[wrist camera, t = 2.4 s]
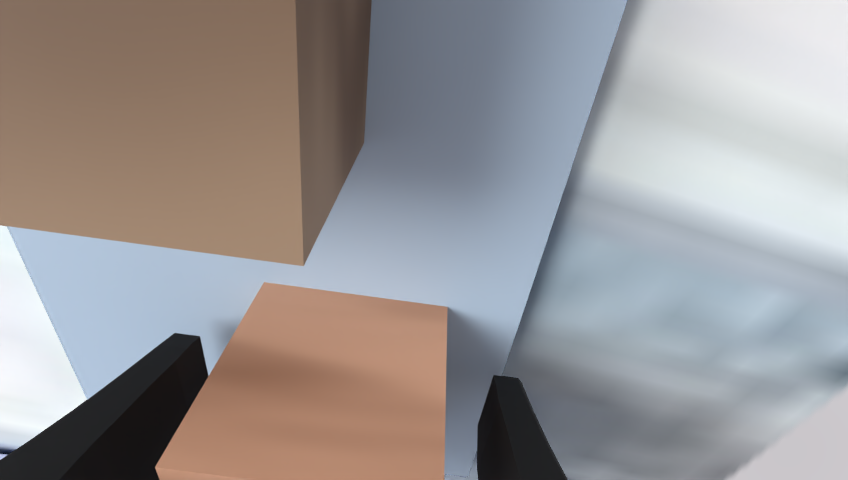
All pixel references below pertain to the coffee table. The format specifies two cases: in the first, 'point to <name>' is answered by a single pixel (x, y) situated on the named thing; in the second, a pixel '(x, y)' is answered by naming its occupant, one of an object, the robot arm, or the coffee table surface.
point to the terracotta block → (320, 393)
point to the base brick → (182, 120)
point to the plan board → (384, 202)
